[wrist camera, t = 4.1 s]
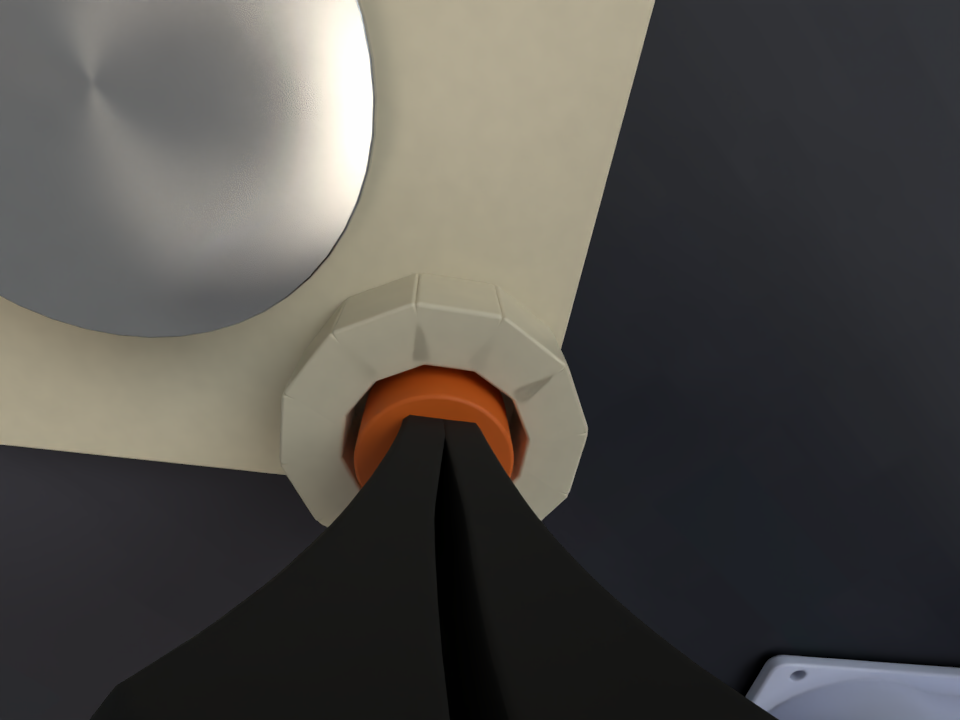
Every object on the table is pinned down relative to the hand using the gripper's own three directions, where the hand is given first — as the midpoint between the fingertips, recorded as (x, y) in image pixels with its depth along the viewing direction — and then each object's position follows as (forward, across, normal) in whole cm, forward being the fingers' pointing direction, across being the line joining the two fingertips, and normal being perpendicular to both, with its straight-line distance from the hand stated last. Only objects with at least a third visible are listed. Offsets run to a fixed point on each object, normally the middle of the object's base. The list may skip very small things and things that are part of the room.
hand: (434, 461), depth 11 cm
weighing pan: (0, +6, -5) cm, 8 cm away
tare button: (+2, 0, 0) cm, 2 cm away
